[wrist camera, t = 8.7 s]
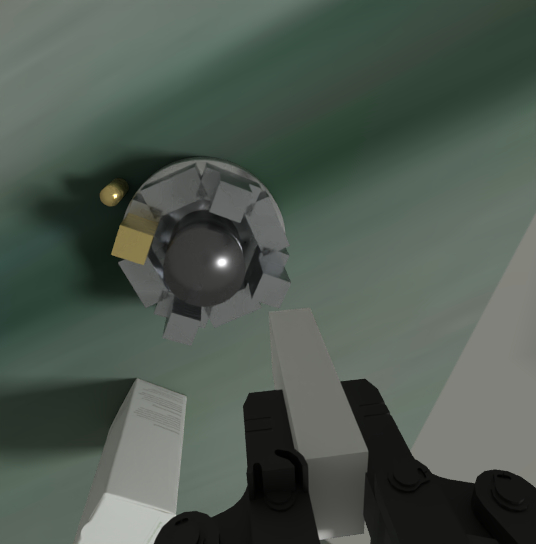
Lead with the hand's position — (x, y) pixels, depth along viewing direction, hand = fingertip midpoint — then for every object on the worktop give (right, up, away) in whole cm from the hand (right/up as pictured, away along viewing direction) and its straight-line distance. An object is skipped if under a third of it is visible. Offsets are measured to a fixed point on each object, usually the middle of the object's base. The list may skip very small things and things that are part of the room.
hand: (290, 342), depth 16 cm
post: (-14, +10, +23) cm, 29 cm away
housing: (-7, +6, +26) cm, 27 cm away
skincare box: (-15, -13, +33) cm, 39 cm away
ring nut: (-7, +5, +23) cm, 25 cm away
